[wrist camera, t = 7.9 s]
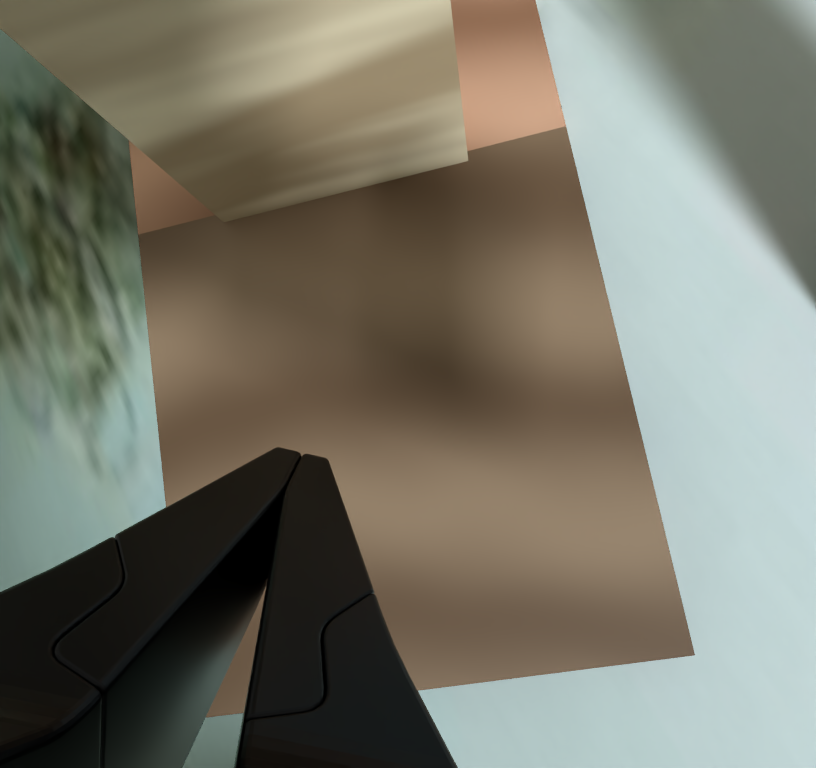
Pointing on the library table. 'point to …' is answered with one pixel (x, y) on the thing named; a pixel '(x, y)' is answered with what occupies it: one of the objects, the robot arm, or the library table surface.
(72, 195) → the library table surface
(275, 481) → the robot arm
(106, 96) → the T block
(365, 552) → the board
